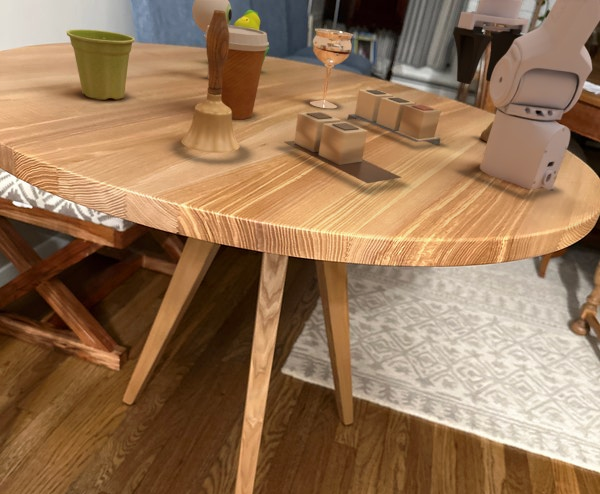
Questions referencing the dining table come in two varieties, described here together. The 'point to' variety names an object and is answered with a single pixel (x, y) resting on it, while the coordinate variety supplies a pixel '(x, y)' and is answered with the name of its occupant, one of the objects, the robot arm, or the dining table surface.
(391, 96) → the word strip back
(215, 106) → the hand bell
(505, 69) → the robot arm
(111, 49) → the plant pot
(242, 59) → the disposable coffee cup
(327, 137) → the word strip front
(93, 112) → the dining table surface
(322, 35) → the wineglass
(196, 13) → the lollipop
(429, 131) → the red-topped wooden cube
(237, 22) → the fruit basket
